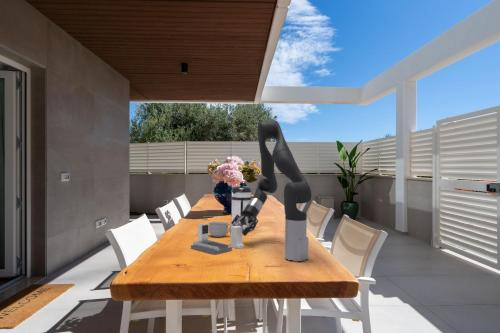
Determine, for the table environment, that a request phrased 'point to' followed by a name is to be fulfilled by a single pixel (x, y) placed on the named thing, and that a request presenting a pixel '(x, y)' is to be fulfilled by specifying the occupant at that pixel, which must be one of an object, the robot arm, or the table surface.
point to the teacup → (218, 228)
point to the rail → (208, 242)
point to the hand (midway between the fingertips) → (237, 233)
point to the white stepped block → (236, 237)
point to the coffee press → (240, 201)
